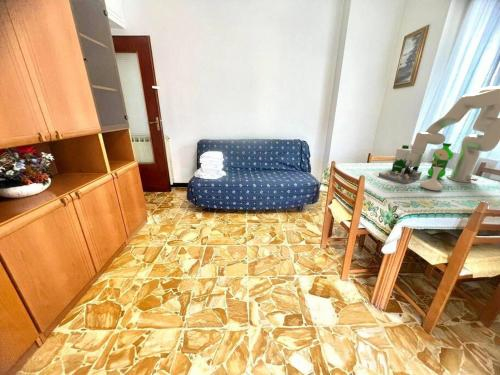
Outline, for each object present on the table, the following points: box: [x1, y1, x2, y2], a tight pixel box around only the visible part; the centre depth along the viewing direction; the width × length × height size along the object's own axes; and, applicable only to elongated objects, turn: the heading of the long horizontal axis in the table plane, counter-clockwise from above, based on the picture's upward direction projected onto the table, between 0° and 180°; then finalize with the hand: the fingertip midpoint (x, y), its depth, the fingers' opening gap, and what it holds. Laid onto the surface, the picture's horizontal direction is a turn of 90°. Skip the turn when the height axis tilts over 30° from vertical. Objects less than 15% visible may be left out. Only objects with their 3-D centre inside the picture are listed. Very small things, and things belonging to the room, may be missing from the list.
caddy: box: [378, 170, 417, 185], centre depth 146 cm, size 18×13×4 cm
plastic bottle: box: [427, 142, 454, 179], centre depth 147 cm, size 10×10×25 cm
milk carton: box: [391, 144, 412, 173], centre depth 161 cm, size 9×9×20 cm
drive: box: [400, 168, 423, 180], centre depth 150 cm, size 10×6×6 cm, turn 26°
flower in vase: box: [419, 148, 449, 191], centre depth 126 cm, size 13×11×25 cm
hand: (409, 173), depth 150 cm, fingers open, 9 cm apart
